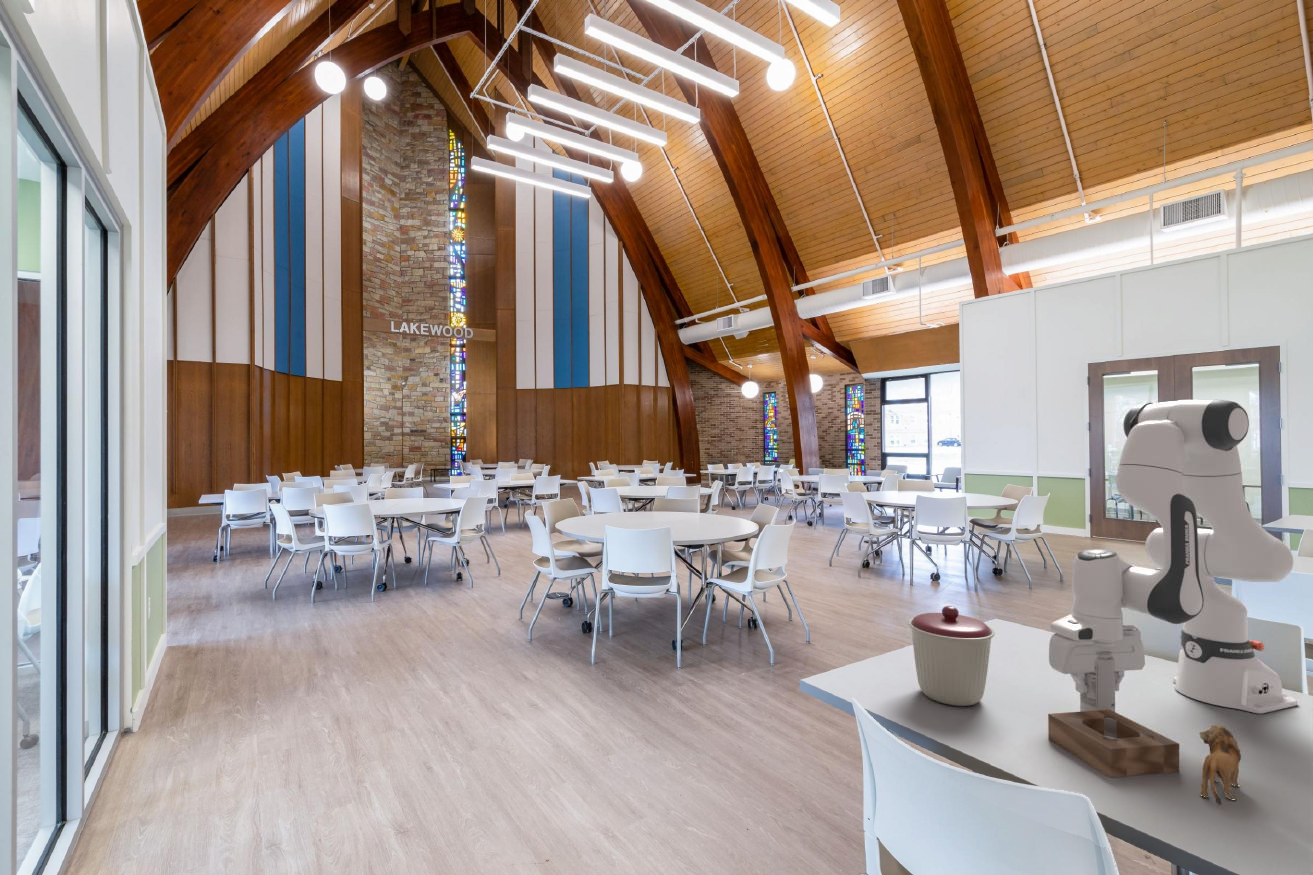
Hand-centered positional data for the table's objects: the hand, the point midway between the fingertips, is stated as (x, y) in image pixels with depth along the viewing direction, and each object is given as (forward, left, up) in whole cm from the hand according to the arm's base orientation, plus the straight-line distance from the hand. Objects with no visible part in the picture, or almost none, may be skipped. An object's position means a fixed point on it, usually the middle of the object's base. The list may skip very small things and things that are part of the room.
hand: (1097, 691), depth 128 cm
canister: (+24, -15, -6) cm, 29 cm away
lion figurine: (+1, +25, -6) cm, 26 cm away
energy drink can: (0, 0, -6) cm, 6 cm away
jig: (+10, +13, -6) cm, 17 cm away
